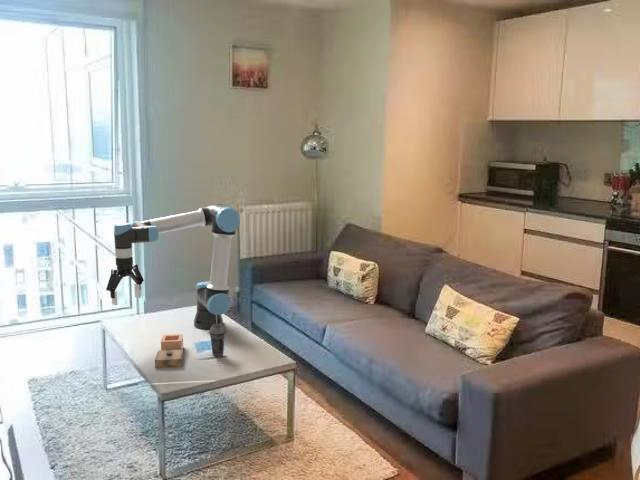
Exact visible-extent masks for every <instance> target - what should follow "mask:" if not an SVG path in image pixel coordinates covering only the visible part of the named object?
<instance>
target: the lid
mask: <svg viewBox="0 0 640 480" xmlns="http://www.w3.org/2000/svg"><path fill="white" fill-rule="evenodd" d="M183 360H184V348H183V349H182V350H161V349H160V350H157V352H156V356H155V358H154V368H155V369H158V368H159V369H161V367H163V368H181V367H182V366H181V365H183Z"/></svg>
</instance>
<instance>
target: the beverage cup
mask: <svg viewBox="0 0 640 480" xmlns="http://www.w3.org/2000/svg"><path fill="white" fill-rule="evenodd" d="M225 336H226V328H225V326H224V324H223V325H222V324H220V323H217V314H216V324H213V325H212V326H211V328H210V329H209V337H210V341H211V342H210V343H211V352H212V357H215V358H217V357H221V358H222V356H224V350H225Z"/></svg>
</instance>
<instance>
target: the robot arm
mask: <svg viewBox="0 0 640 480" xmlns="http://www.w3.org/2000/svg"><path fill="white" fill-rule="evenodd" d="M240 222H241V218H240V214H239V213H238V211H236V209H234V208H233V207H231V206H227V205H225V204H220V203H219V204H211V205H208V206H203V207H199V208H198V210H194V211H188V212H183V213H178V214H174V215H168V216H165V217H164V216H163V217H158V218H153V219H149V220H143V221H142V220H136V221H133V222H132V223H130V222H118V223H116V224H114V226H113V230H114V231H113V237H114V252H115V254H114V255H115V265H116V268H115V269H111V270H110V276H109V279H108V282H107V286H106V291H107V292H110V299H111V304H112V305H113V306H118V291H117V289H118V287H119V284H120V283H121V280H123V278H125V277H130V278H131V280H133V281H134V285H133V287H134V298H139V299H140V298H141V289H142V288H141V285H142V284H143V283H144V281H145V279H144V277H143V275H142V274H141V271H140V269H139V265H138V264H137V263H134V257H133V254H134V253H133V244H141V243H153V242H157V241H158V240H159V236H160V234H163V233H168V232H169V233H170V232H173V231H180V230H185V229H189V228H193V227H198V226H202V227H204V228H205V227H212V228H211V233H212V235H213V236H214V237H213V245H212V246H213V247H212V255H211V266H210V267H211V268H210V275H209V281H202V282H201V281H200V282H197V283H196V287H195V288H196V289H195V295H196V296H195V297H196V312H195V316H194V318H193V319H194V320H193V326H194V327H195V328H196V329H202V330H210V328H211V326H212V325H213V324H216V314H217V323H220V324H222V325H223V326H224V319H223V316H222V315H223V314H226V313H227V312H228V311H229V309H230V308H231V306H232V305H231V304H232V300H231V297H230V296H229V294H230V286H229V285H228V276H229V265H230V257H231V248H232V247H231V246H232V238H233V237H235V236H236V233H237V231H236V230H237V229H238V228H239V226H240Z"/></svg>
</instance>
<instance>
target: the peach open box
mask: <svg viewBox="0 0 640 480" xmlns="http://www.w3.org/2000/svg"><path fill="white" fill-rule="evenodd" d="M182 349H183V350H184V336H183V334H181V333H177V334H176V333H175V334H163V335H162V338H161V341H160V350H182Z"/></svg>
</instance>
